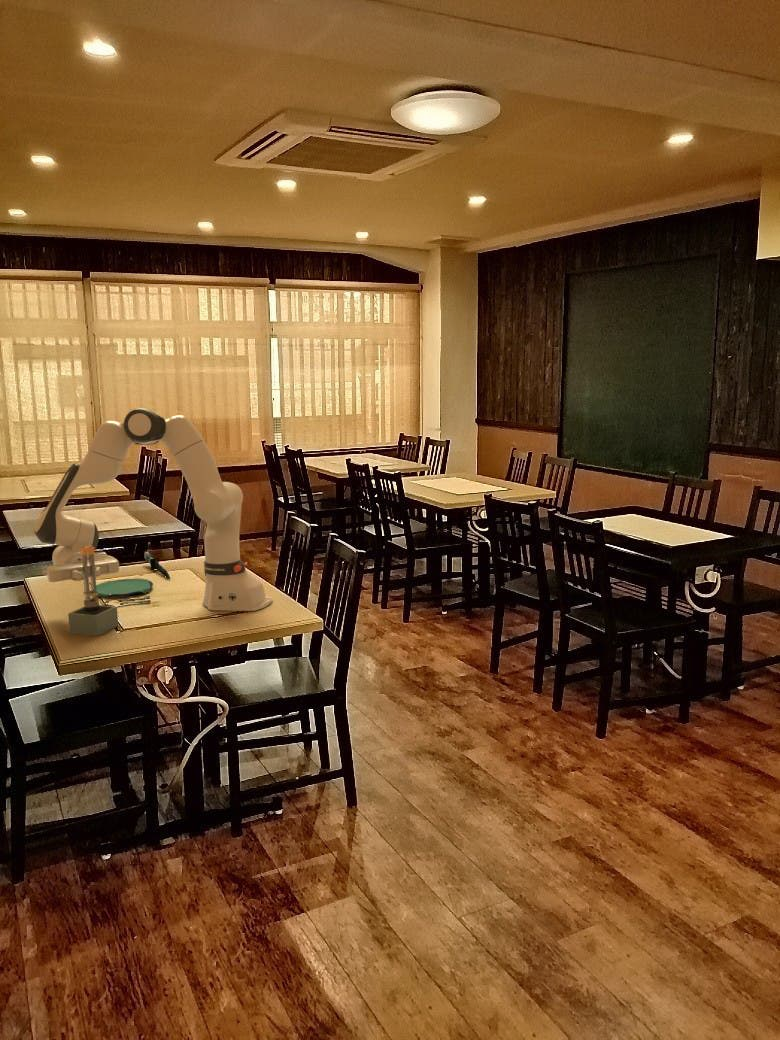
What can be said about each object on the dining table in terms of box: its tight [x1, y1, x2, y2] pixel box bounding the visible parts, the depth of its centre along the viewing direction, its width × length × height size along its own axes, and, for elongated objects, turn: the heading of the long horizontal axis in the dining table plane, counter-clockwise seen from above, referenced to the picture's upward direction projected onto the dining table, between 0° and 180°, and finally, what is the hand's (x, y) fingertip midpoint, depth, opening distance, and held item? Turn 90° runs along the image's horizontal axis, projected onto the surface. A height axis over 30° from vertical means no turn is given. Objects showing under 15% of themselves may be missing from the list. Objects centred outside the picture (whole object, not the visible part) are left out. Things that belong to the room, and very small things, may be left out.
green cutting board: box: [96, 577, 154, 605], centre depth 273 cm, size 20×30×2 cm, turn 20°
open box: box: [67, 604, 119, 637], centre depth 235 cm, size 10×10×6 cm
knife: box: [143, 550, 171, 580], centre depth 302 cm, size 31×3×4 cm, turn 30°
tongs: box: [80, 545, 100, 612], centre depth 233 cm, size 4×4×19 cm
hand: (90, 574), depth 232 cm, fingers closed on tongs, 3 cm apart
